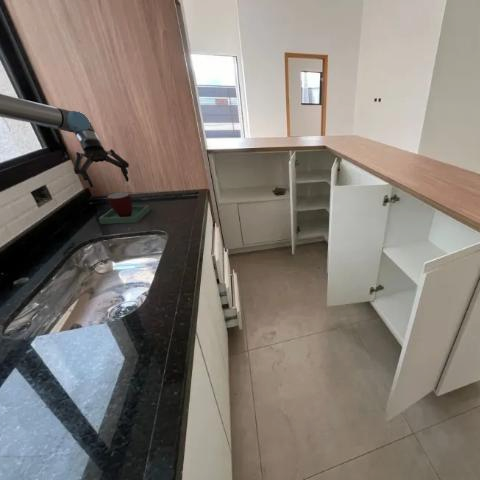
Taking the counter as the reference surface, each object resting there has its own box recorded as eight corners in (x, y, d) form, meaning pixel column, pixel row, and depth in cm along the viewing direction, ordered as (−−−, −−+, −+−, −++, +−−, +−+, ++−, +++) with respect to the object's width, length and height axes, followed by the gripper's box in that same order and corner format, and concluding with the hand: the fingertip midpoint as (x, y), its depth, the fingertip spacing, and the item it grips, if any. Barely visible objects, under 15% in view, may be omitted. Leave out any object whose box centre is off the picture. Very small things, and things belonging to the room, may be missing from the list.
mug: (118, 212, 124) (111, 191, 119) (138, 210, 127) (132, 190, 122) (113, 221, 116) (104, 199, 111) (134, 218, 118) (127, 197, 114)
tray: (100, 224, 114) (98, 218, 113) (117, 211, 127) (115, 206, 125) (137, 222, 116) (135, 217, 115) (150, 210, 129) (148, 205, 128)
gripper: (122, 146, 132) (141, 182, 130) (56, 151, 116) (76, 192, 114) (122, 136, 127) (141, 173, 125) (52, 140, 110) (73, 183, 109)
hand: (110, 182), depth 119 cm, fingers open, 13 cm apart
